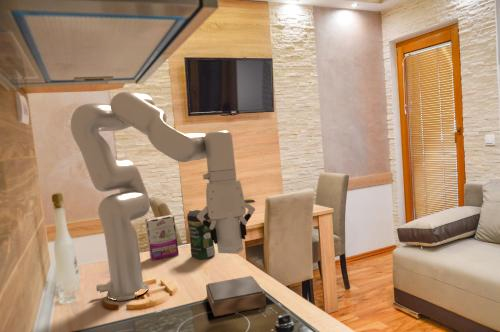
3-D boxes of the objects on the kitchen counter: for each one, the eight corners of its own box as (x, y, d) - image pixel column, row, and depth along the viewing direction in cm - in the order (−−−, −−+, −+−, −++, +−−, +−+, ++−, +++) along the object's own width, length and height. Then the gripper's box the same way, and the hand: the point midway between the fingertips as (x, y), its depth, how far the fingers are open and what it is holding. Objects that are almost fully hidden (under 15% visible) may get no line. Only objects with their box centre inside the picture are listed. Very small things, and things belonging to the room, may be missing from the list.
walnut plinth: (214, 316, 102) (212, 301, 102) (207, 296, 116) (205, 283, 116) (266, 306, 105) (264, 291, 105) (253, 288, 119) (252, 275, 119)
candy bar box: (176, 252, 167) (171, 214, 166) (179, 255, 163) (174, 215, 162) (149, 258, 163) (144, 218, 162) (151, 261, 158) (146, 220, 157)
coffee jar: (188, 257, 158) (183, 211, 157) (204, 252, 164) (199, 207, 162) (202, 261, 151) (196, 213, 150) (218, 255, 156) (213, 209, 155)
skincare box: (244, 249, 110) (239, 206, 109) (236, 254, 106) (231, 210, 105) (224, 249, 113) (220, 207, 112) (216, 253, 109) (211, 210, 108)
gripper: (191, 181, 103) (199, 249, 104) (256, 173, 107) (263, 238, 108) (189, 179, 110) (196, 242, 111) (249, 172, 114) (256, 232, 115)
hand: (229, 240), depth 109 cm, fingers closed on skincare box, 7 cm apart
